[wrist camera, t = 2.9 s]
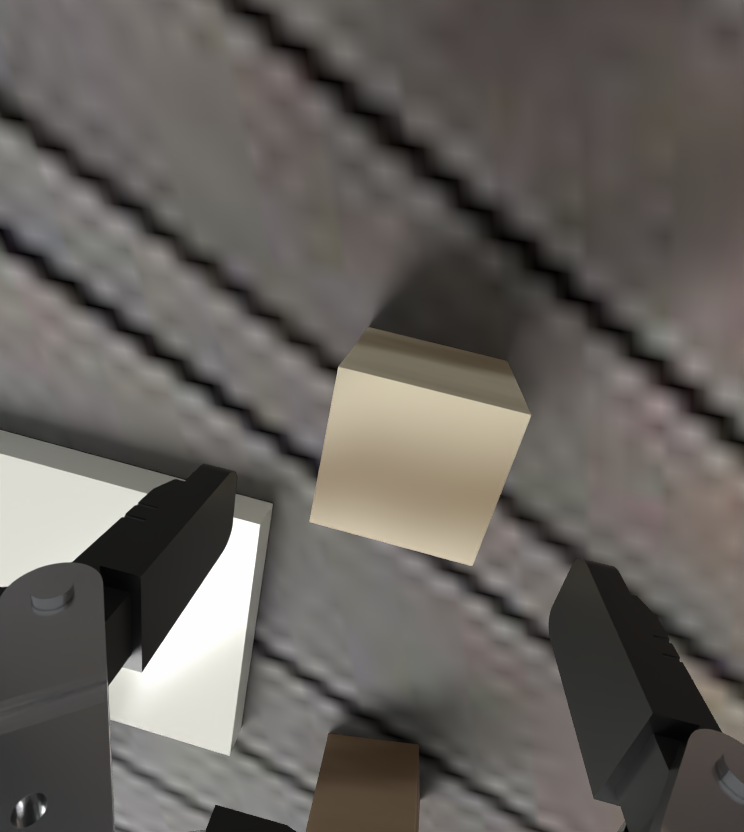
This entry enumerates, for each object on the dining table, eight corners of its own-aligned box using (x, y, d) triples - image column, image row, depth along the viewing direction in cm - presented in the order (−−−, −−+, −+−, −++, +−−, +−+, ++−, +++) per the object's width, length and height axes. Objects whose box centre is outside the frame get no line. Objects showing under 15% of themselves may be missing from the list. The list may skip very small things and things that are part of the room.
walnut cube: (329, 731, 25) (302, 843, 21) (418, 742, 25) (412, 861, 20) (336, 786, 27) (313, 899, 23) (419, 798, 26) (414, 917, 22)
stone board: (-65, 412, 21) (-102, 425, 19) (273, 503, 20) (260, 524, 18) (-15, 651, 27) (-39, 674, 26) (241, 728, 26) (229, 755, 25)
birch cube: (369, 326, 16) (338, 366, 12) (507, 360, 16) (531, 415, 11) (343, 447, 18) (309, 521, 14) (465, 479, 18) (472, 566, 13)
